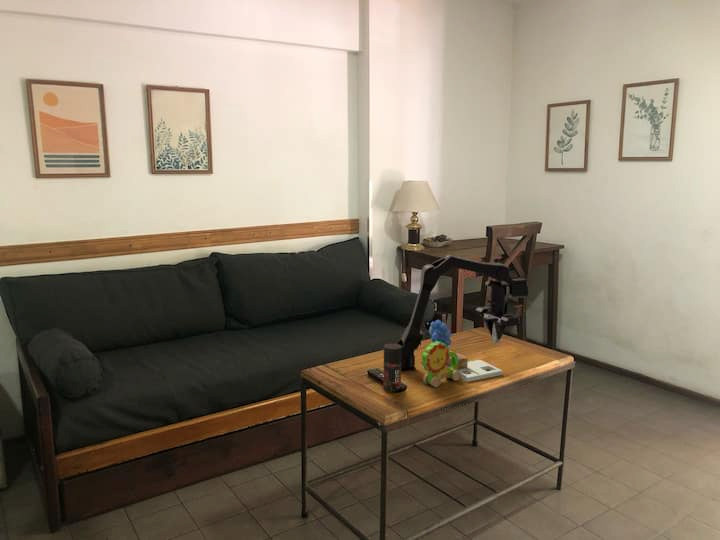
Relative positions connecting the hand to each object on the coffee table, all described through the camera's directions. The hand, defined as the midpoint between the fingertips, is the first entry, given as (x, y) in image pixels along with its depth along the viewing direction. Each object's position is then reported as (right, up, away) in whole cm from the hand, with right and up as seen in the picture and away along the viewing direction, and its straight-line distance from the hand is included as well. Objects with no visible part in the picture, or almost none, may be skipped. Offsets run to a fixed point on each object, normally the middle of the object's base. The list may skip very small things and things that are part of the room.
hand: (496, 338), depth 217 cm
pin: (0, -1, 0) cm, 1 cm away
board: (-9, -12, -3) cm, 15 cm away
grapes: (-18, -7, +23) cm, 30 cm away
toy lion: (-23, -14, -13) cm, 30 cm away
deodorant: (-40, -15, -19) cm, 46 cm away
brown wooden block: (-15, -10, -2) cm, 18 cm away
